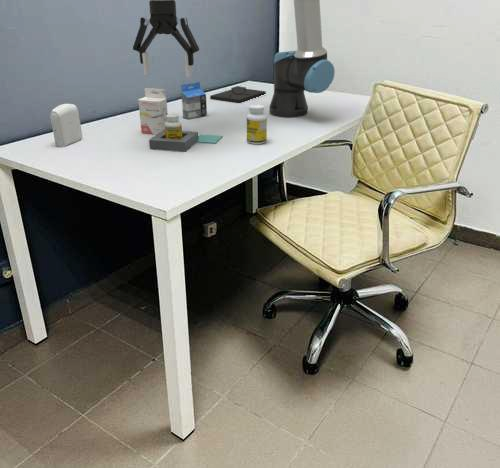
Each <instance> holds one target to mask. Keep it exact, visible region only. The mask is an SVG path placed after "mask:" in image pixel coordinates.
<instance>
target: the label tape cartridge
mask: <svg viewBox="0 0 500 468" xmlns="http://www.w3.org/2000/svg"><path fill="white" fill-rule="evenodd" d="M191 87H192V88H191ZM180 89H181V105H182V106H181V108H182V118H183V119H186V120H191V119H196V118H201V117H202V118H203V117H206V116H208V111H207V108H208V107H207V94H206V92H204V90H202V89H201V82H200V81H198V82H192V83H191V82H190V83H185V84H181V85H180Z"/></svg>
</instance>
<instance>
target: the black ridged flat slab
mask: <svg viewBox="0 0 500 468" xmlns="http://www.w3.org/2000/svg"><path fill="white" fill-rule="evenodd" d="M264 94H266V95H267V91H265V90H260V89H259V90H258V89H251V88H247V87H246V86H241V85H240V86H239V85H236V86H233V87H231V89H229V90H225V91H221V92H217V93H215V94H212V95H209V100H213V101H219V102H225V103H226V102H227V103H232V104H233V103H234V104H239V103H240V104H243V103H245V101H246V102H248V100H249V101H251V100H250V99H252V100H254V99H253V98H255V99H257V98H256V97H258V98H260V97H259V96H261V95H264ZM264 96H265V95H264ZM261 97H262V96H261ZM242 102H243V103H242Z"/></svg>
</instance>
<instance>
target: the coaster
mask: <svg viewBox="0 0 500 468" xmlns="http://www.w3.org/2000/svg"><path fill="white" fill-rule="evenodd" d="M198 139H199V140H198V141H197V143H196V144H209V145H210V144H213V145H216V144H217V143H218V142H219V141H220V140H221V139H223V135H215V134H203V133H202V134H201V133H200V134H198Z"/></svg>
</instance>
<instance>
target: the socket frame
mask: <svg viewBox="0 0 500 468" xmlns="http://www.w3.org/2000/svg"><path fill="white" fill-rule="evenodd" d="M182 135H183V138H182V139H180V140H179V139H166V134H165V130H163V131H161V132H160V133H158V134H157V135H155V134H154V136H152V137H151V138H149V139H148V142H149V143H148V146H149V150H154V151H171V152H181V153H183V152H186V153H187V151H189V150H190V149H191V148H192V147H193V146H194V145H195V144H198V143H197V141H198V140H199V139H198V136H199V131H190V130H182Z"/></svg>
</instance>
